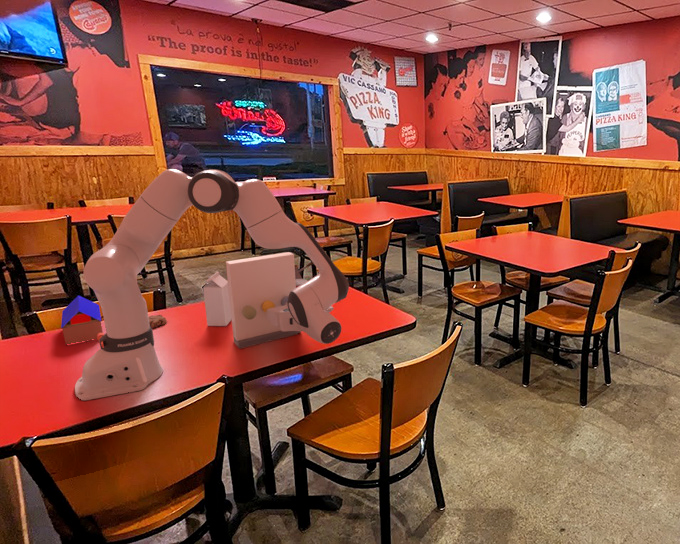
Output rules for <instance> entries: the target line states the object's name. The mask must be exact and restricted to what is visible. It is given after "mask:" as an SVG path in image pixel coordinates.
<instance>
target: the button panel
mask: <svg viewBox="0 0 680 544" xmlns="http://www.w3.org/2000/svg"><path fill="white" fill-rule="evenodd" d="M225 265H226V266H225V267H226V276H227V281H228V288H229V298H230V308H231V318H232V320H231V325H232V337H233V343H234V344H235V346H236V347H237V348H238V349H240V350H241V349H244V348H248V347H253V346H255V345H256V346H257V345H259V344H263V343H264V344H265V343H268V342H272V341H276V340H280V339H284V338H287V337H292V336H295V334H296V335H299V334H298V333H300V334H301V333H302V331H285V332H283V331H281V329H280V327H276V326H274V325H273V324H271V323H270V322H269V321H268V320H267V314H266V313H265V312H264V311H263V310H262V304H263V302H265V301H267V300H269V301H271V302H273V303H274V304H275V307H279V306H282V305H281V301H282V299H283V298H284V297H286V296H289V293H290V292H291V291H292V290H294V289H295V288H296V282H295V265H296V264H295V254H294V253H292V252H289V251H288V252H281V253H275V254H268V255H260V256H256V257H255V256H254V257H248V258H247V257H246V258H241V259H235V260H234V259H233V260H228V261H225ZM246 306H252V307H253V308H254V309H255V310H256V316H255V317H254V318H253V319H246V318H245V317H244V316H243V314H242V311H243V309H244V308H245V307H246Z"/></svg>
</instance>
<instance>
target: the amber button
mask: <svg viewBox="0 0 680 544" xmlns="http://www.w3.org/2000/svg"><path fill="white" fill-rule="evenodd" d="M274 307H275V304H274V303H273V302H271V301H269V300H267V301H265V302H263V304H262V310H263V311H264V312H265V313H266V311H267V309H269V308H274Z"/></svg>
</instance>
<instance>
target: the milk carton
mask: <svg viewBox="0 0 680 544" xmlns="http://www.w3.org/2000/svg"><path fill="white" fill-rule="evenodd" d="M206 282H207V283H206V284H205V285H204V286H203V289H202V290H203V298H204V299H203V300H204V307H205V317H206V325H207V327H227V326H228V325H229V324H230V322H232V318H231V308H230V298H229V288H228V279H226V278H225V277H223V276H222V275H220V271H216V272H215V273H214V274H212V275H211V276H209V277H208V278H207V279H206Z"/></svg>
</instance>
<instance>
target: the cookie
mask: <svg viewBox="0 0 680 544" xmlns="http://www.w3.org/2000/svg"><path fill="white" fill-rule="evenodd" d="M148 318H149V324H150V326H151V328H152V329H154V328H157V327H159V326H163V325H165V324H167V322H168V321H167V318H166V317H164V316H163V315H162V314H157V315H156V314H155V315H150V316H149V315H148Z"/></svg>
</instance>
